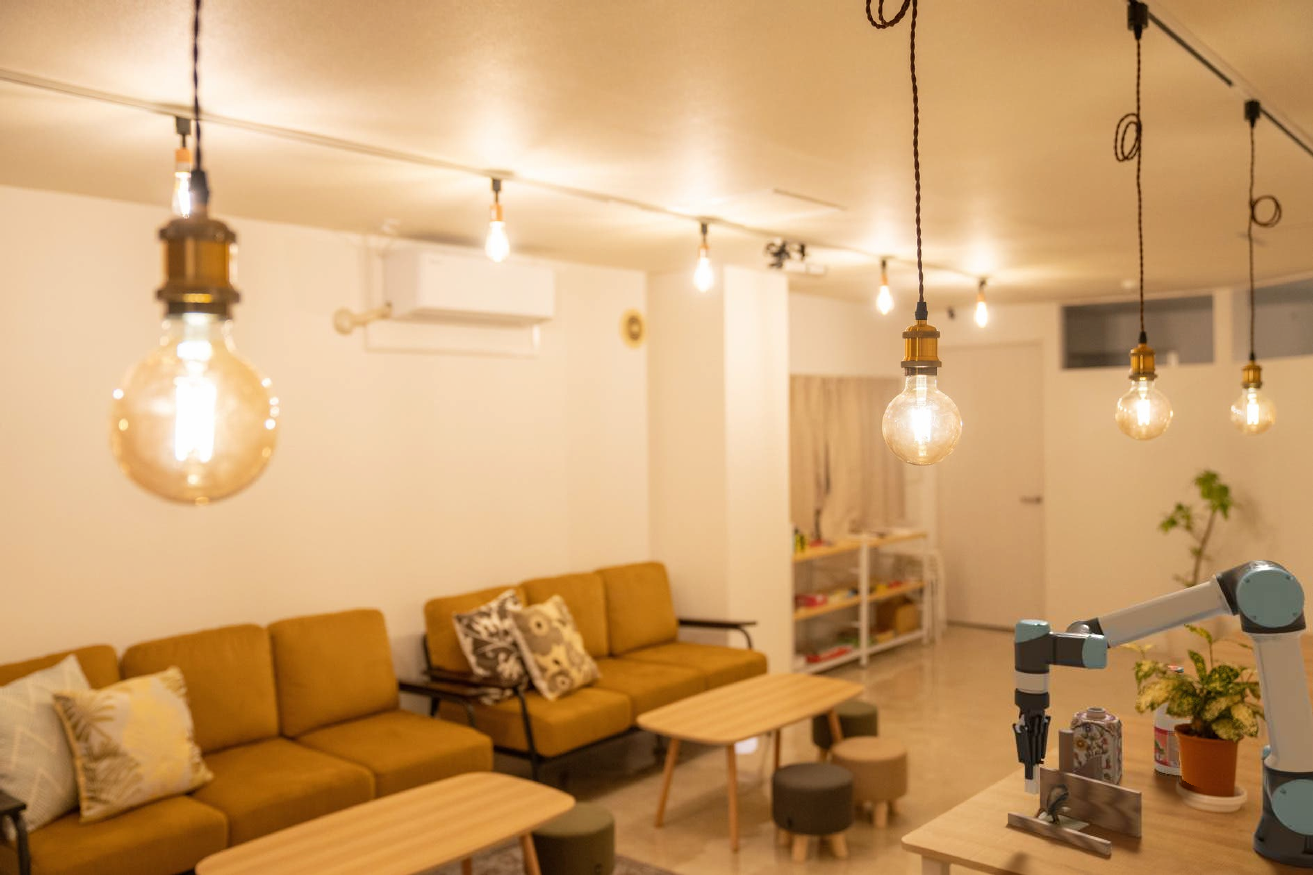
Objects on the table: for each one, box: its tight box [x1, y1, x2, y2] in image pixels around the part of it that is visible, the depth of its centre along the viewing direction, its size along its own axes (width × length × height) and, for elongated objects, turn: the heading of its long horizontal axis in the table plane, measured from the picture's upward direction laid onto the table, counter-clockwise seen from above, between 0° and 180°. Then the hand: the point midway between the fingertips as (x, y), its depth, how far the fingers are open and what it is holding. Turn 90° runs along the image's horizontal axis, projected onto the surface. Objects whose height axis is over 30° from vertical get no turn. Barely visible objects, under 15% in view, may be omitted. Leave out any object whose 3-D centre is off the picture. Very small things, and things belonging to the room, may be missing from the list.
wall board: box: [1007, 765, 1143, 856], centre depth 237 cm, size 24×16×10 cm, turn 40°
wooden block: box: [1058, 728, 1102, 781], centre depth 251 cm, size 4×11×18 cm, turn 32°
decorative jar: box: [1069, 706, 1123, 785], centre depth 273 cm, size 12×12×18 cm
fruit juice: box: [1153, 665, 1190, 775], centre depth 276 cm, size 9×9×28 cm
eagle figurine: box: [1038, 784, 1071, 826], centre depth 239 cm, size 8×7×9 cm
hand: (1031, 792), depth 233 cm, fingers closed
